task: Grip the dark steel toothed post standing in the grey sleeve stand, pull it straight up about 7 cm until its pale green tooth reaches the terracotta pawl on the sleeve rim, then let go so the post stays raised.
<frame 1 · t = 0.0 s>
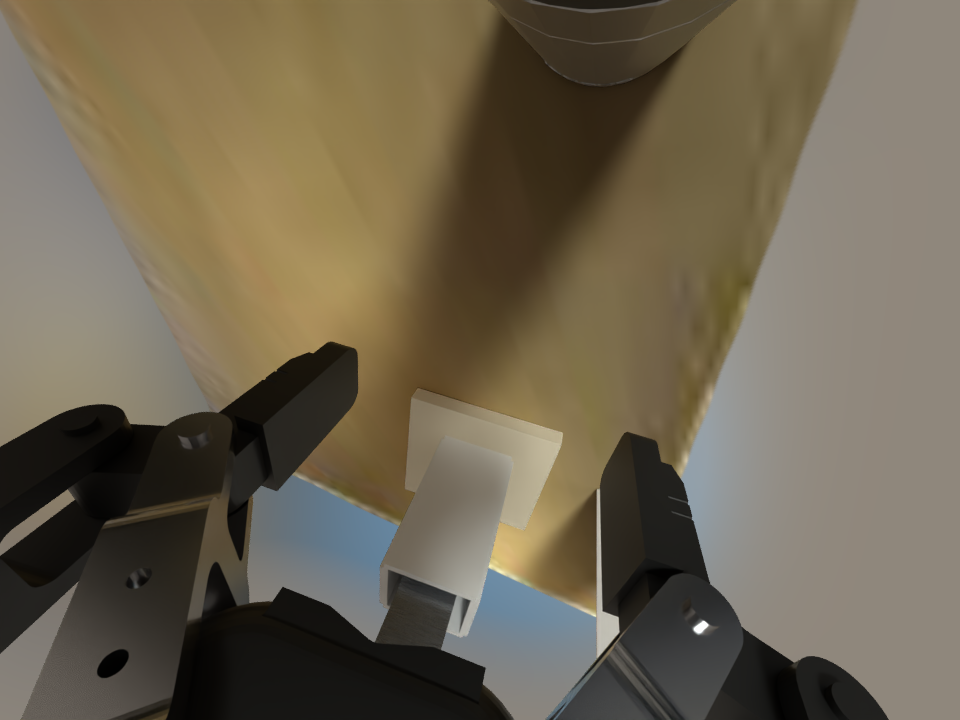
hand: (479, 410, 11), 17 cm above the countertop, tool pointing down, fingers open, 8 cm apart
steel post: (439, 565, 29), point 11 cm above the countertop, slide at 0.0 cm
milk: (631, 507, 36), on the countertop
sleeve stand: (476, 458, 38), on the countertop
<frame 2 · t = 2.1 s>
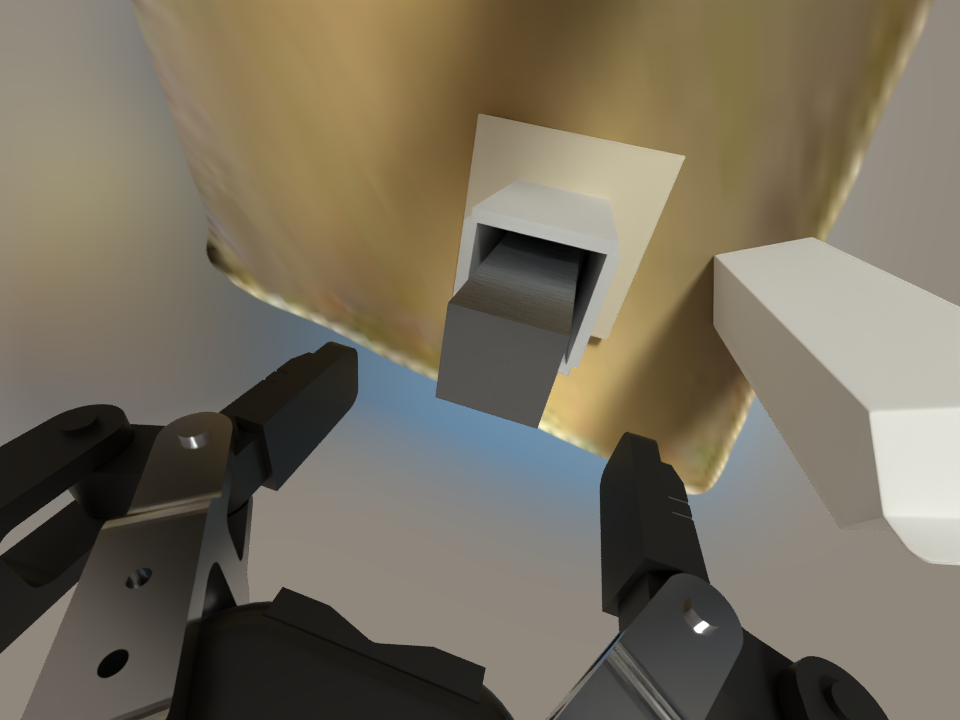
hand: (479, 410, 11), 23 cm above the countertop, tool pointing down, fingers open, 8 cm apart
steel post: (531, 282, 21), point 11 cm above the countertop, slide at 0.0 cm
milk: (757, 283, 28), on the countertop
sleeve stand: (551, 234, 30), on the countertop
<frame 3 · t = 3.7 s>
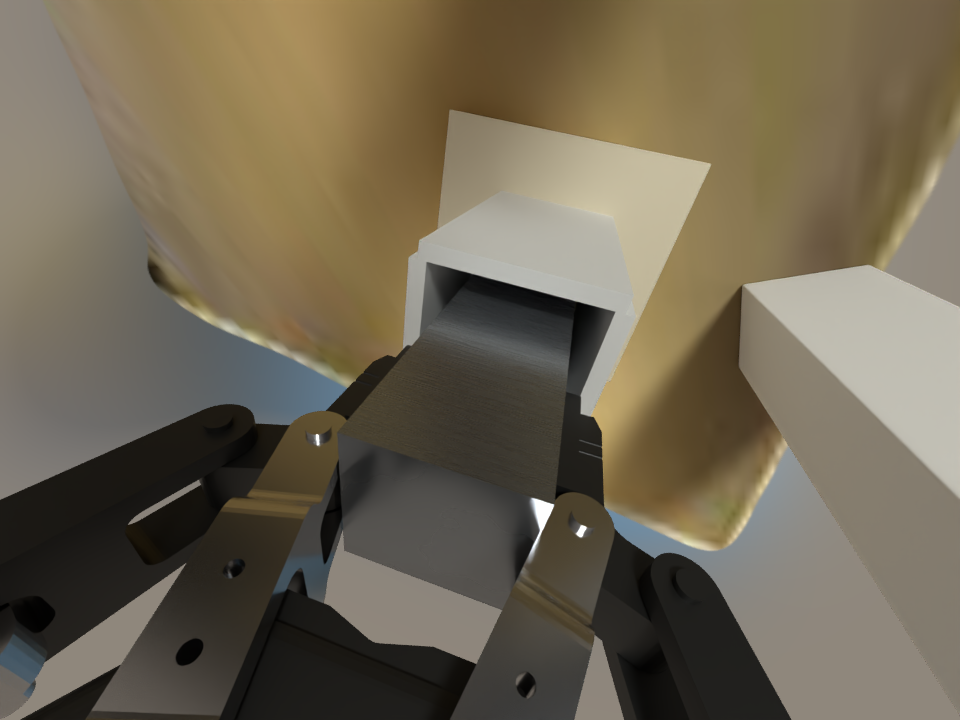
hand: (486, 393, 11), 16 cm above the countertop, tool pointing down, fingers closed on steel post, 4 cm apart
steel post: (512, 333, 15), point 11 cm above the countertop, slide at 0.0 cm, touching gripper
milk: (795, 319, 23), on the countertop
sleeve stand: (542, 256, 24), on the countertop
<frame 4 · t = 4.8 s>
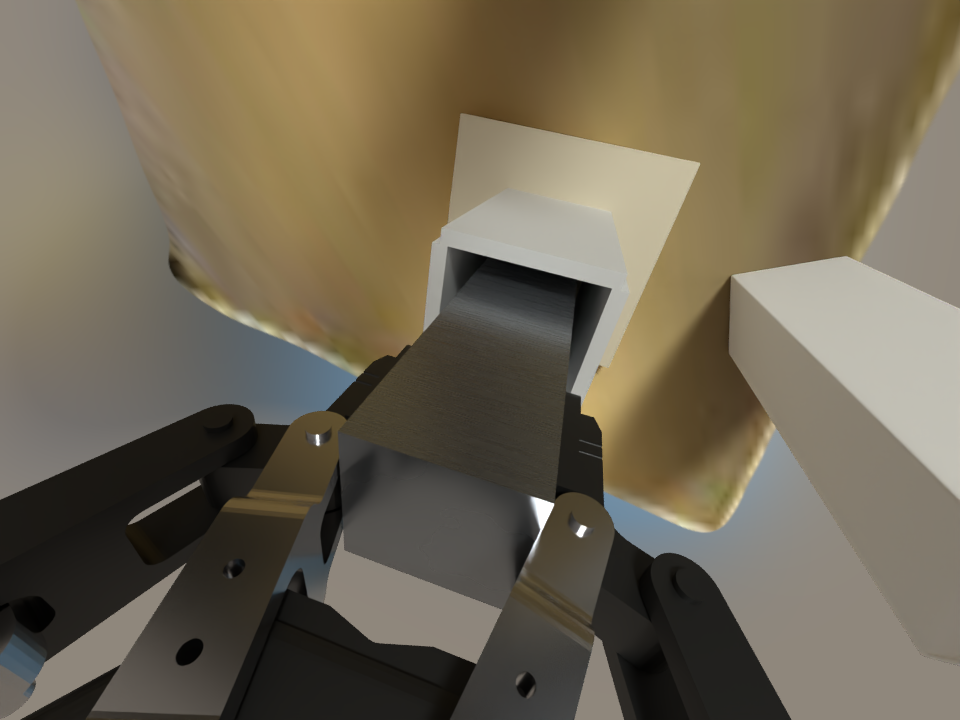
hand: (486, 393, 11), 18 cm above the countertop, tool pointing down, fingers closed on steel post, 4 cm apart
steel post: (512, 333, 15), point 13 cm above the countertop, slide at 2.0 cm, touching gripper
milk: (780, 307, 24), on the countertop
sleeve stand: (545, 250, 26), on the countertop
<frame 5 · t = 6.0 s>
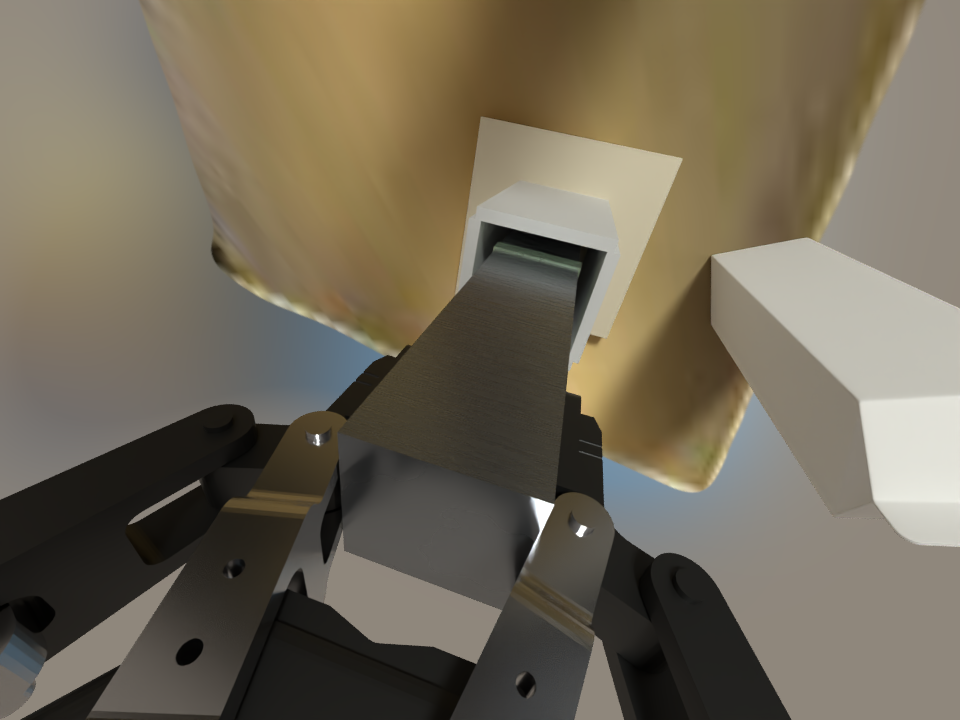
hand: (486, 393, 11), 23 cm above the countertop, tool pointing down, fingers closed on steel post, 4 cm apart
steel post: (512, 333, 15), point 18 cm above the countertop, slide at 6.9 cm, touching gripper
milk: (753, 283, 28), on the countertop
sleeve stand: (552, 234, 30), on the countertop
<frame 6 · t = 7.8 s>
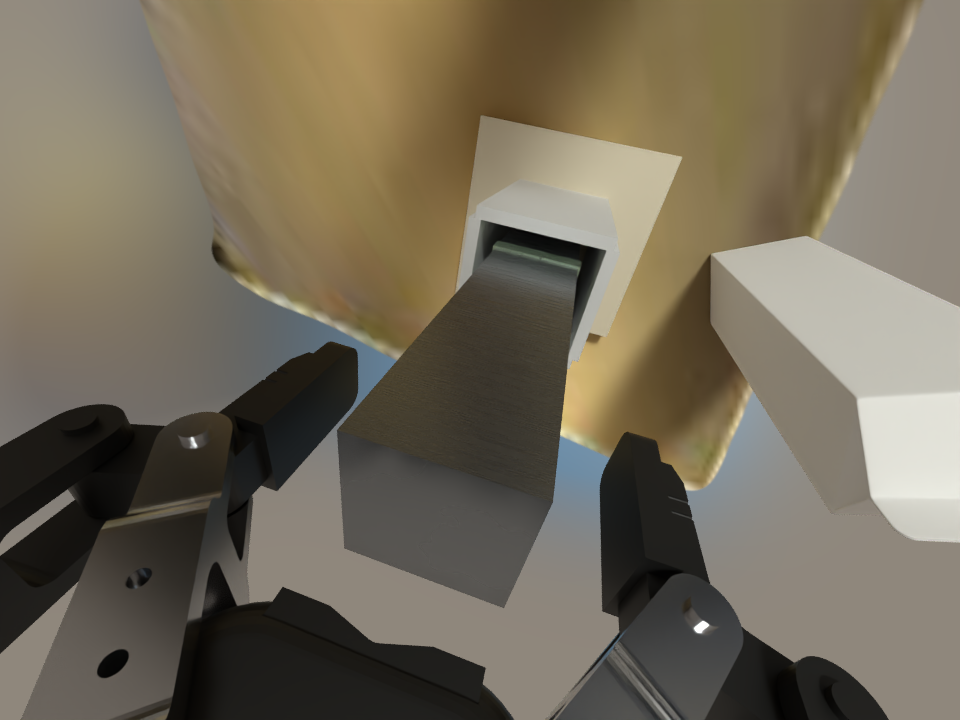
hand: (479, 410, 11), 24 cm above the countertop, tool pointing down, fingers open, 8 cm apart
steel post: (511, 332, 15), point 18 cm above the countertop, slide at 6.9 cm
milk: (753, 281, 29), on the countertop
sleeve stand: (551, 233, 30), on the countertop
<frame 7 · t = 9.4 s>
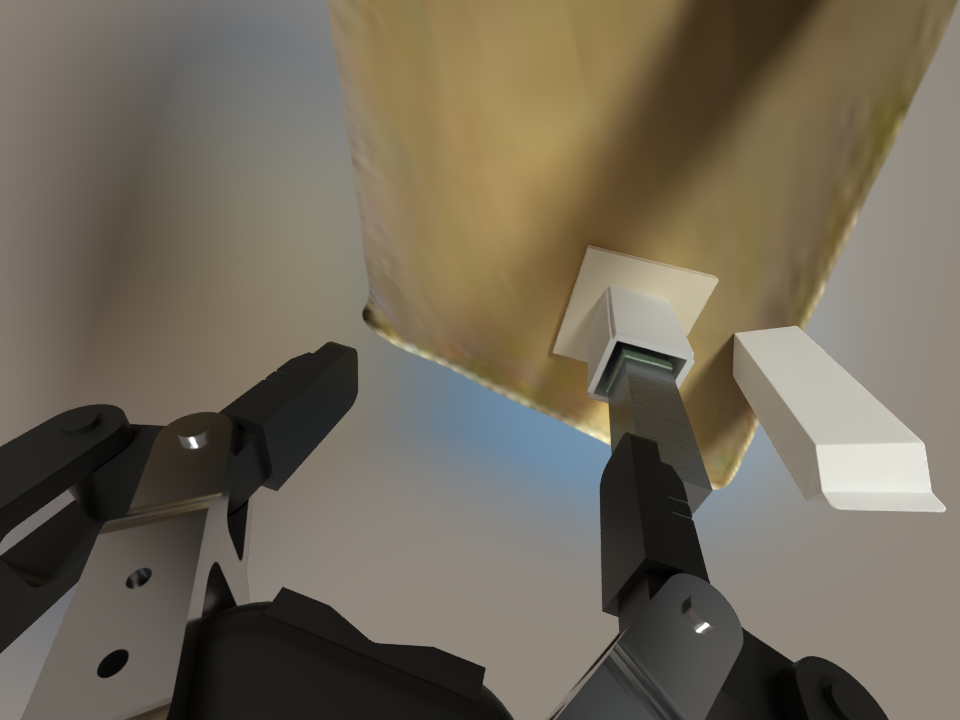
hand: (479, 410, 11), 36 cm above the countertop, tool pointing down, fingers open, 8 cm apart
steel post: (641, 406, 30), point 18 cm above the countertop, slide at 6.9 cm
milk: (762, 350, 43), on the countertop
sleeve stand: (625, 315, 45), on the countertop
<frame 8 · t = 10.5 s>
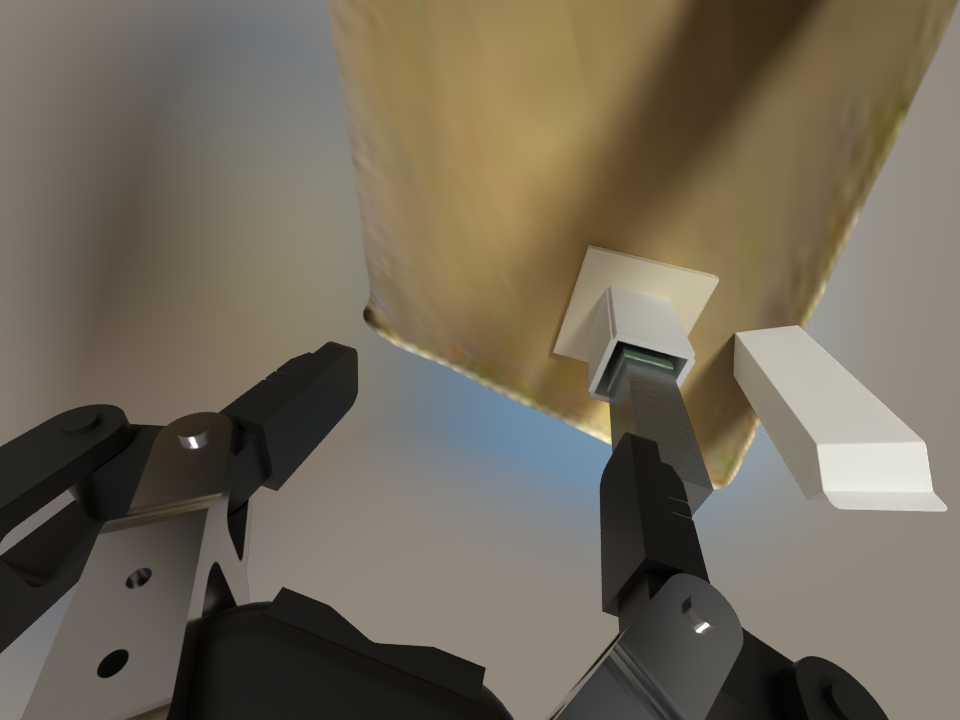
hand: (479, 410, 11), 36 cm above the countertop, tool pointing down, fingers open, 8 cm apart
steel post: (642, 406, 30), point 18 cm above the countertop, slide at 6.9 cm
milk: (762, 350, 43), on the countertop
sleeve stand: (626, 315, 45), on the countertop
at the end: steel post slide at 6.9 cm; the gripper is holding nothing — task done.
